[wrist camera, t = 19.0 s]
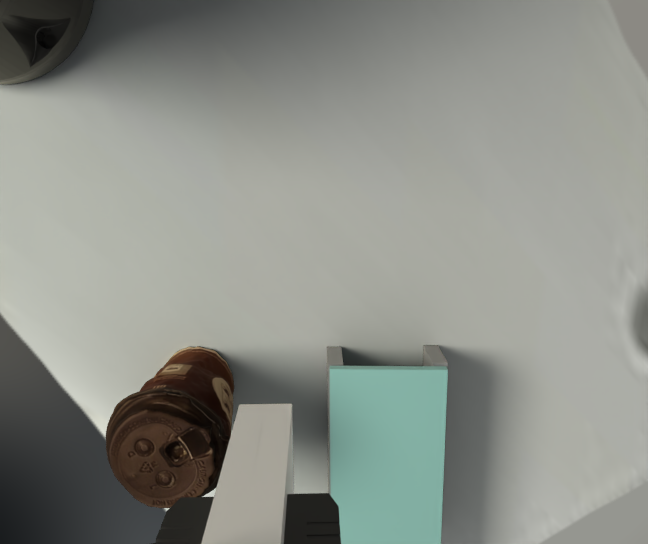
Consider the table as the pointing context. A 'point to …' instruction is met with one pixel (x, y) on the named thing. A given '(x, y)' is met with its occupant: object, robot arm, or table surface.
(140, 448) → the coffee cup
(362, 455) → the cover
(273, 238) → the table surface
